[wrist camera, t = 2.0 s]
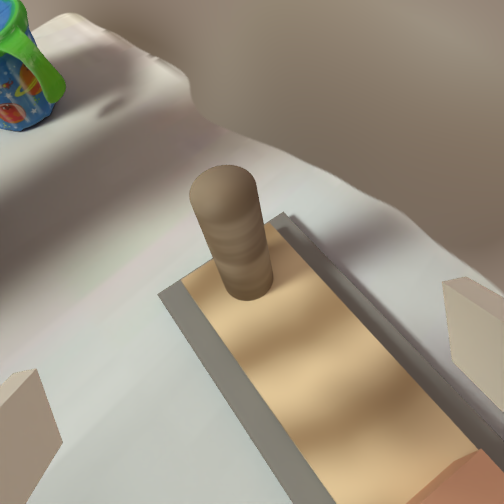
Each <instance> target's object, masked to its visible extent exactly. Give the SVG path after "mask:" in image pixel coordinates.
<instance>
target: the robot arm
mask: <svg viewBox="0 0 504 504" xmlns="http://www.w3.org/2000/svg"><path fill="white" fill-rule="evenodd" d="M442 286H443V294H444V302H445V310H446V318H447V325H448V333H449V341H450V349H451V357H452V362H453V363H454V364H455V365H456V366H457V367H458V368H459V369H460V370H461V371H462V372H463V373H464V374H465V375H466V376H467V377H468V378H469V379H470V380H471V381H472V382H473V383H474V384H475V385H476V386H477V387H478V388H479V389H480V390H481V391H482V392H483V393H484V394H485V395H486V396H487V397H488V398H489V399H490V400H491V401H492V402H493V403H494V404H495V405H496V406H497V407H498V408H499V409H500V410H501V411H502V412H503V413H504V298H503V297H501V296H500V295H498V294H496V293H494V292H493V291H491V290H489V289H487V288H486V287H484V286H482V285H480V284H478V283H477V282H475V281H473V280H471V279H470V278H468V277H462V278H457V279H453V280H448V281H443V282H442ZM62 443H63V441H62V439H61V436H60V433H59V430H58V427H57V425H56V422H55V419H54V416H53V413H52V411H51V408H50V405H49V402H48V399H47V397H46V394H45V391H44V388H43V385H42V383H41V380H40V377H39V374H38V371H37V369H31V370H27V371H22V372H17V373H13V374H12V375H11V376H10V377H9V378H8V379H7V380H6V381H5V382H4V383H3V384H2V385H1V386H0V504H26V502H27V500H28V499H29V497H30V495H31V494H32V492H33V491H34V489H35V487H36V486H37V484H38V482H39V481H40V479H41V477H42V476H43V474H44V472H45V471H46V469H47V468H48V466H49V464H50V463H51V461H52V459H53V458H54V456H55V454H56V453H57V451H58V450H59V448H60V446H61V445H62Z"/></svg>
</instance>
